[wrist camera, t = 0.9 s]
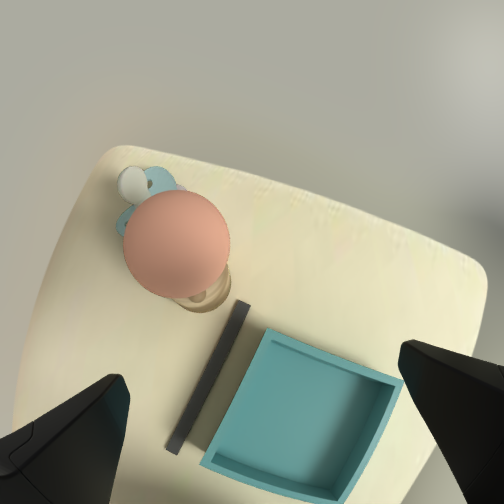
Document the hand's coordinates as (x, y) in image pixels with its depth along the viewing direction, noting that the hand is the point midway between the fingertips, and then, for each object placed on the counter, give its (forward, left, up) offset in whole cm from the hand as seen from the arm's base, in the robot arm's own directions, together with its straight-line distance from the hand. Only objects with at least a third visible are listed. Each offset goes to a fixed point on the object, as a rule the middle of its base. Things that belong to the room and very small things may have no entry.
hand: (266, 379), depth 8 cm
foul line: (-3, +3, -14) cm, 15 cm away
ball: (+4, +7, -6) cm, 10 cm away
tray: (-3, -5, -14) cm, 15 cm away
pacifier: (+8, +14, -14) cm, 21 cm away
